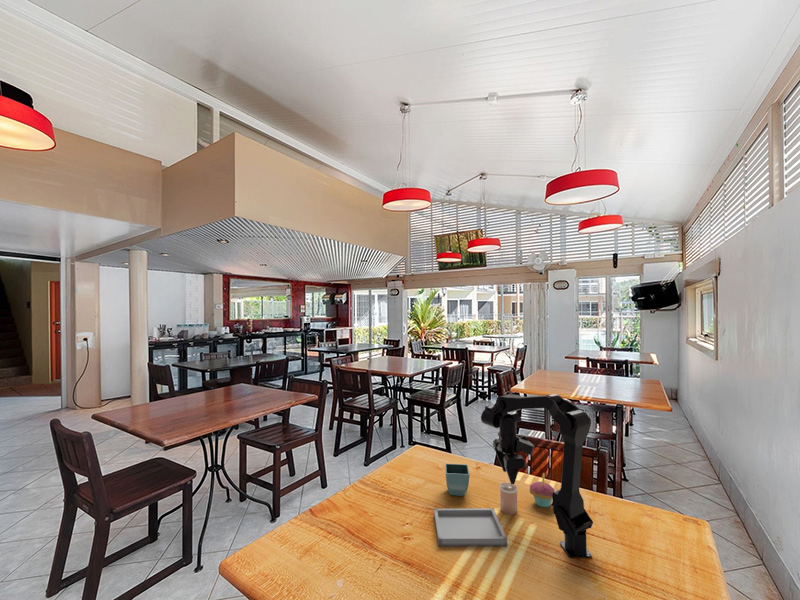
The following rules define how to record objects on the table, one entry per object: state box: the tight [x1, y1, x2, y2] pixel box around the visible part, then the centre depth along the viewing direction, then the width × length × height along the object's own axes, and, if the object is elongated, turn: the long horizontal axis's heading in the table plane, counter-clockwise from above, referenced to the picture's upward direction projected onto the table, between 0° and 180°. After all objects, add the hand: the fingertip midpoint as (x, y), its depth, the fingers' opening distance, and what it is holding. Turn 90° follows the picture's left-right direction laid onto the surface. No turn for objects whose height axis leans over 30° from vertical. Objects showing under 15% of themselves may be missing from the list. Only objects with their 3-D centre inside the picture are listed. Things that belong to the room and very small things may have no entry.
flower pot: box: [444, 463, 471, 497], centre depth 138 cm, size 9×9×9 cm
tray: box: [433, 507, 508, 547], centre depth 115 cm, size 16×20×2 cm
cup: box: [499, 482, 519, 516], centre depth 126 cm, size 6×6×8 cm
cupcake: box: [529, 472, 556, 508], centre depth 130 cm, size 9×8×12 cm
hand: (508, 477), depth 126 cm, fingers open, 9 cm apart
